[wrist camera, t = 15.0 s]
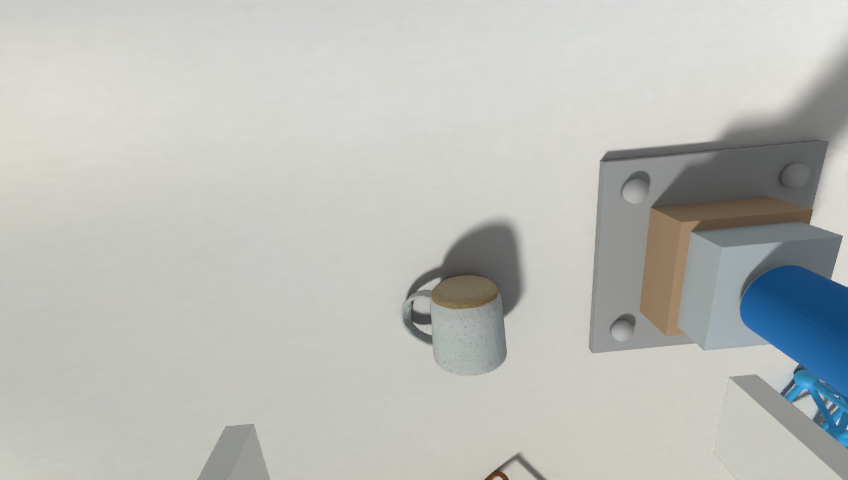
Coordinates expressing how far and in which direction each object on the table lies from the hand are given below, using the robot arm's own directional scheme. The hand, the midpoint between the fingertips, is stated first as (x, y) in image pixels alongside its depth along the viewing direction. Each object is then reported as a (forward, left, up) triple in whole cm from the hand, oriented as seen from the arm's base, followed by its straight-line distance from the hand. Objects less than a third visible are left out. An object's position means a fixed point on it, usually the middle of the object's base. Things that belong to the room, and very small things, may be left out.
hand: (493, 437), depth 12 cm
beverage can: (+10, +28, -22) cm, 37 cm away
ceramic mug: (+14, +1, -32) cm, 35 cm away
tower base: (+10, +28, -32) cm, 43 cm away
